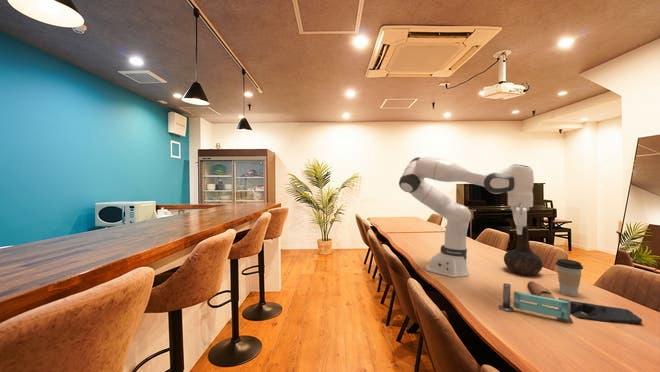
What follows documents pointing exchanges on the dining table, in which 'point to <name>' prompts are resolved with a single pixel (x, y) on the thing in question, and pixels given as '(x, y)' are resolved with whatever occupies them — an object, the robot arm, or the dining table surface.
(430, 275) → the dining table surface
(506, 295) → the hinge post
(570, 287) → the coffee cup
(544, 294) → the sunglasses case
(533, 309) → the gate
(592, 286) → the dining table surface
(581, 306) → the dark slate chunk
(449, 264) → the robot arm
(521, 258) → the dark brown vase
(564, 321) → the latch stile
